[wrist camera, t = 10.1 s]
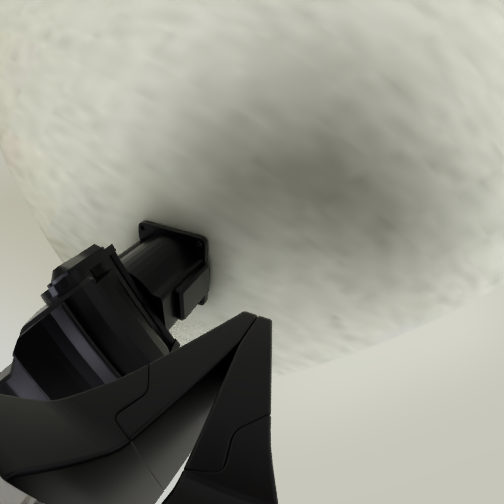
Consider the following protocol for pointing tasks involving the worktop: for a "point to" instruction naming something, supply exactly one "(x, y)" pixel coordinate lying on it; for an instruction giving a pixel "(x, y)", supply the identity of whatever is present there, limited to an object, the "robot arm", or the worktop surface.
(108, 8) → the worktop surface
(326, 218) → the worktop surface
